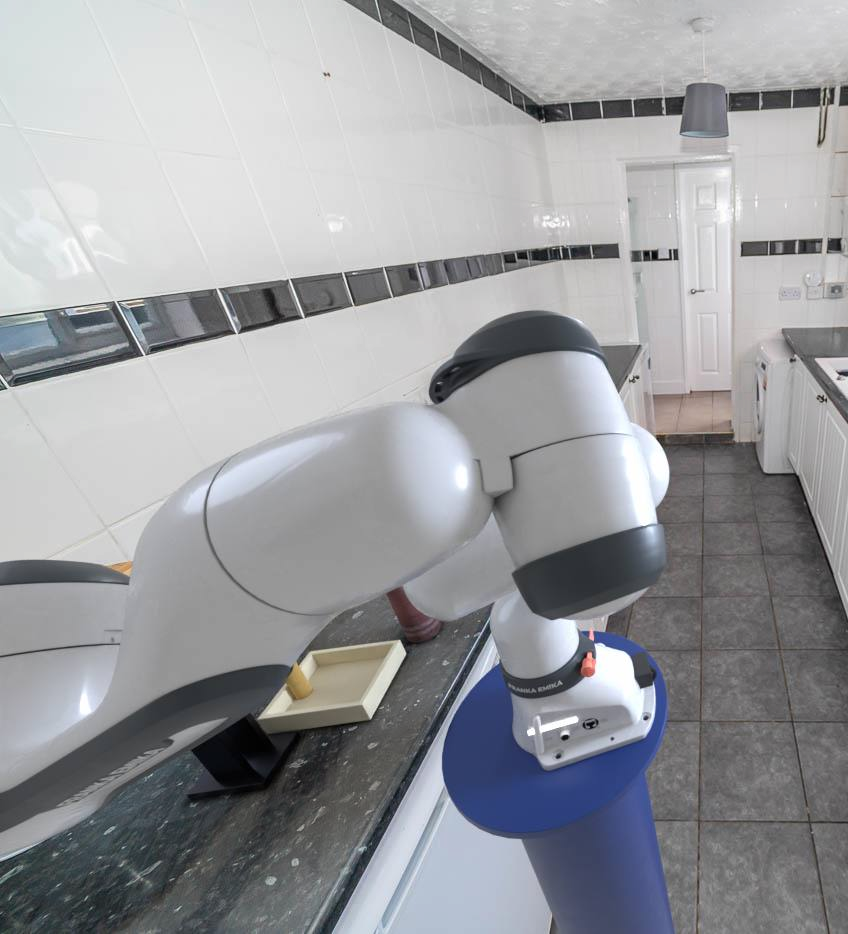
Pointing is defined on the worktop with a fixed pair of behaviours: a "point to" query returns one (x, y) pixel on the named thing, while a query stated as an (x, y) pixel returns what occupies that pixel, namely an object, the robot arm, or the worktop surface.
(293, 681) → the spout
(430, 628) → the can
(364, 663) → the cream wooden tray
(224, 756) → the bracket
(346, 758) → the worktop surface
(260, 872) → the worktop surface
